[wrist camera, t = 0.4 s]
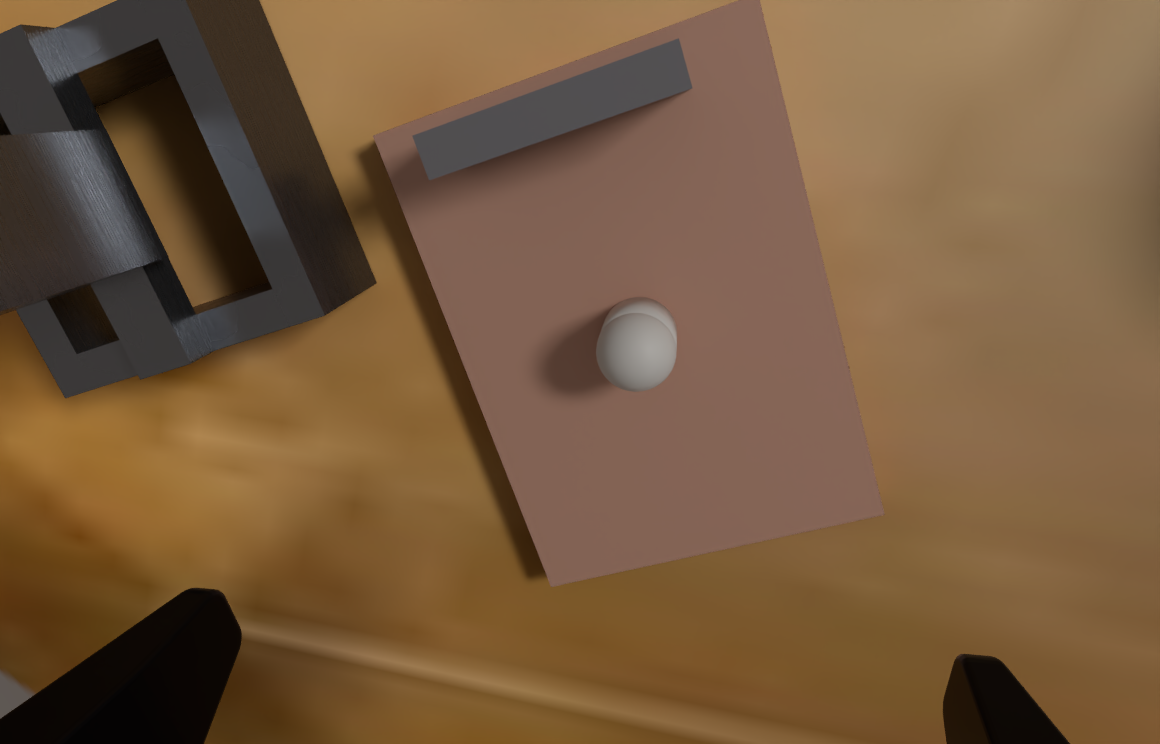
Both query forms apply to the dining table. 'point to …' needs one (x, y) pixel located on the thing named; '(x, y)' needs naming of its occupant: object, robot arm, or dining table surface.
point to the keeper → (642, 299)
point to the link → (115, 212)
